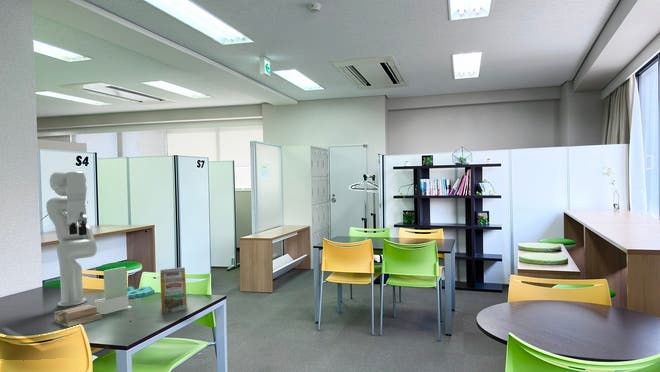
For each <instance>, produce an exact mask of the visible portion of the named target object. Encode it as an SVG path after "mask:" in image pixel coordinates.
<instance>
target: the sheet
mask: <svg viewBox="0 0 660 372" xmlns="http://www.w3.org/2000/svg"><path fill="white" fill-rule="evenodd" d="M127 270H128V269H127V266H121V267H115V268H110V269H106V270H103V286H104V289H103V290H104V298H105V300H107V299H112V298H116V297H120V296H124V295H128V292H127V287H128V276H127Z"/></svg>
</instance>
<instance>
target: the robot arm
mask: <svg viewBox="0 0 660 372" xmlns="http://www.w3.org/2000/svg"><path fill="white" fill-rule="evenodd" d="M86 183H87V177H86V174H85V172H83V171H56V172H55V171H54V172H53V173H51V175H50V178H49V186H50V188H51V190H52V191H54V193H55V194H56V195H58V196H57V197H52V198H50V199H49V200H47V202H46V205H45V206H46V212H47V216H48V217H49V219H50V220H51V222H52V223H53V225H54V228H55V233H56V237H57V241H58V242H59V244H58V245H57V247H56V253H57V258H58V264H59V275H60V276H59V279H60V298H61V300H60V301H59V302H57V306H59V307H72V306H77V305H81V304H83V303H86V302H87V299H88V298H86V297H84V289H83V288H84V285H83V268H82V265H81V264H80V263H79V262H78V261H76V260H80V259H86V258H87V259H88V258H92V257H94V256H96V254H97V252H98V249H97V248H98V247H97V243H96V239H95V236H94V232H93V229H92V227H91V226H90V225H88V224H87V223H88V217H87V208H86V198H87V184H86ZM65 213H66V214H65Z"/></svg>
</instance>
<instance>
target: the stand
mask: <svg viewBox="0 0 660 372" xmlns="http://www.w3.org/2000/svg"><path fill="white" fill-rule="evenodd" d="M129 304H130V303H129V299H128V295H124V296H120V297H116V298H112V299H107V300H105V297H104V298H100V299H95V300H94V306H96V307H97V314H100V313H101V314H102V315H107V314H110V313H111V314H112V313H115V312H117V311H121V310H122V311H123V310H126V309H128V310H133V306H132V305H129Z"/></svg>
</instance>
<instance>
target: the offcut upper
mask: <svg viewBox="0 0 660 372" xmlns="http://www.w3.org/2000/svg"><path fill="white" fill-rule="evenodd" d="M85 305H86V306H83V305H81V306H82V307H79V306H77V307H78V308H74V307H73V308H74V309H70V308H69V309H70V310H66V309H64V310H65V311H63V317H64V318H66V319H72V318H76V317H80V316H84V315H88V314H92V313H96V312H97V307H96V306H95V305H92V304H85ZM97 313H98V312H97Z"/></svg>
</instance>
